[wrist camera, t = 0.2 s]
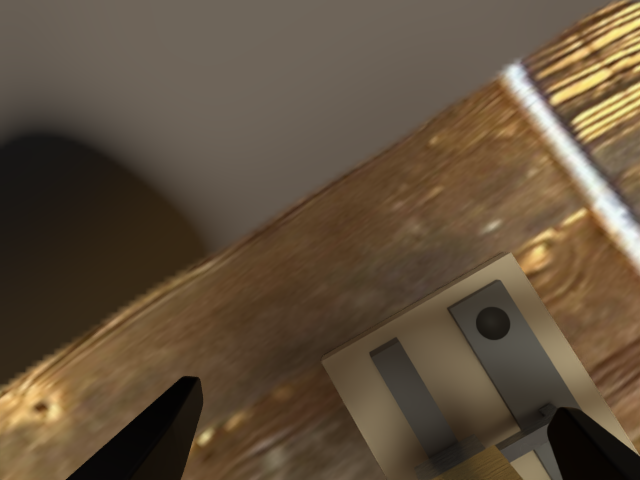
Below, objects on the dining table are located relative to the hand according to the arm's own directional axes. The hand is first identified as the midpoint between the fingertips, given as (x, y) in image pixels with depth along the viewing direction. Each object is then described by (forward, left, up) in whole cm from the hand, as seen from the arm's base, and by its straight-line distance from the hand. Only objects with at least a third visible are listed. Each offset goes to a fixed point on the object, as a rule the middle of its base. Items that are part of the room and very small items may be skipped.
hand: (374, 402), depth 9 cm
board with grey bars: (-10, -4, -14) cm, 18 cm away
